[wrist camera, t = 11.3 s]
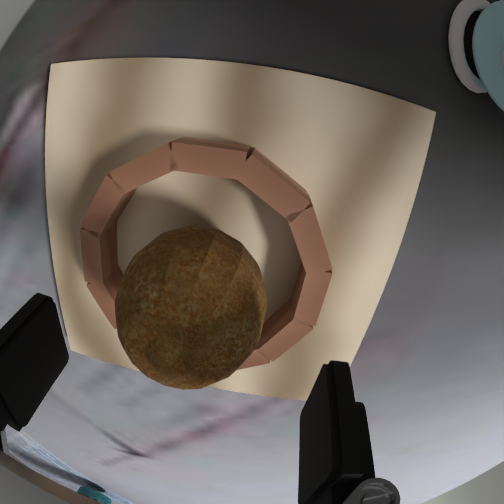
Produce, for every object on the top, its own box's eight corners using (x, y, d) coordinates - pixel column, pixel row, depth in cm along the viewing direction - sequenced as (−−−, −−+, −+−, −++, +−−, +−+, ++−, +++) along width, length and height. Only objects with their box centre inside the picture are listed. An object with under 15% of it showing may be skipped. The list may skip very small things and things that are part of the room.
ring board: (425, 111, 14) (455, 114, 11) (329, 390, 22) (333, 424, 20) (63, 64, 14) (28, 63, 11) (77, 340, 22) (59, 367, 20)
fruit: (133, 231, 17) (50, 320, 9) (237, 181, 15) (199, 257, 8) (189, 321, 19) (150, 431, 12) (288, 287, 17) (291, 408, 10)
